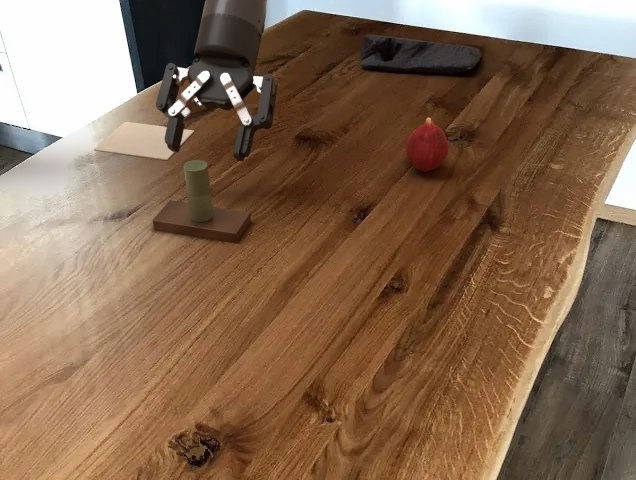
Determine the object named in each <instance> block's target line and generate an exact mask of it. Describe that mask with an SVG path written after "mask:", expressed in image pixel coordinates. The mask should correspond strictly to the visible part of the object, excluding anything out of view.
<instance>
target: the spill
mask: <svg viewBox="0 0 636 480" xmlns="http://www.w3.org/2000/svg"><path fill="white" fill-rule="evenodd" d="M166 129H167V126H164V125H163V126H162V125H155V124H147V123H141V122H139V123H138V122H133V121H132V122H131V121H124V122H123V123H122V124H121V125H120V126H118V127H117V128H116V129H115V130H113V132H111V134H109V135H108V136H107V137H106V138H105V139H104V140H103V141H102V142H100V143H99V144H98V145H97V146H96V147H94V148H93V150H94V151H96V152H103V153H111V154H117V155H126V156H130V157H132V156H133V157H138V158H146V159H154V160H160V161H169V160H170V158H171V157H172V156H173V155H174V154H175V153H176V152H172V151H171V150H170V149H169V148H168V147H167V144H166V143H165V139H164V138H165V133H166ZM194 133H195V130H193V129H185V128H184V131H183V136H182V140H181V145H180V147H182V146H183V145H184V143H185V142H186V141H187V140H188V139H189V138H190V137H191V136H192V135H193V134H194Z"/></svg>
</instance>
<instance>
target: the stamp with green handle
mask: <svg viewBox="0 0 636 480" xmlns="http://www.w3.org/2000/svg"><path fill="white" fill-rule="evenodd" d="M183 172H184V180H185V188H186V195H187V202H183V201H179V200H170V199H169V200H168V201H167V202H166V203H165V205H164V206H163V207H161V209H160V210H159V212H158V213H157V214H156V215H155V216H154V218H152V226H153V231H158V232H164V233H170V234H176V235H183V236H188V237H194V238H200V239H206V240H213V241H219V242H225V243H231V244H238V243H239V241H240V240H241V238H242V237H243V235H244V234H245V232H246V231H247V229H248V228H249V227H250V225H251V224H252V215H251V212H250V211H243V210H237V209H229V208H224V207H216V206H213V203H212V191H211V183H210V175H209V165H208V163H207V161H205V160H204V159H203V160H202V159H192V160H189V161H186V162H185V163H183Z"/></svg>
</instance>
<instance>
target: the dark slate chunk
mask: <svg viewBox="0 0 636 480" xmlns="http://www.w3.org/2000/svg"><path fill="white" fill-rule="evenodd" d="M361 44H362V45H361V51H360V64H359V66H360V67H362V68H364V69H366V70H372V69H374V70H383V71H388V72H389V71H390V72H401V73H408V72H412V73H413V72H414V73H421V74H423V73H426V74H431V73H432V74H442V75H445V74H448V75H453V74H457V73H464V72H469V71H471V70H472V69H474V67H476V65H477V64H478V62H479V63H480V59H481V58H482V53H481V51H480V50H479V49H478V48H477V47H473V46H465V45H457V44H447V43H441V42H435V41H428V40H420V39H412V38H411V39H410V38H406V37H405V38H404V37H396V36H388V35H387V36H386V35H379V34H378V35H377V34H366V35H365V36H363V37H362V42H361ZM386 60H389V61H386Z"/></svg>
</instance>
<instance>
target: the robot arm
mask: <svg viewBox="0 0 636 480" xmlns="http://www.w3.org/2000/svg"><path fill="white" fill-rule="evenodd" d="M267 4H268V0H205V1H204V5H203V10H202V15H201V19H200V25H199V29H198V33H197V39H196V43H195V48H194V53H193V61H192V64H191V66H189V68H184V67H179V66H177V65H176V64H175V63H173V62H168V63H167V64H166V66H165V70H164V73H163V76H162V80H161V84H160V86H159V90H158V95H157V100H156V102H155V107H156V109H157V110H158V111H159V112H160V113H162V114H163V115H164V116H165V117H166V118H168V119H167V125H166V127H167V129H166V133H165V138H164V139H165V143H166V144H167V147H168V148H169V149H170V150H171V151H172V152H175V153H179V152H180V149H181V146H182V145H181V140H182V136H183V131H184V129H185V125H186V124H185V123H184V122H185V121H186V120H187V119H189V118H190V116H192V114H196V113H197V112H199V111H200V110H202V108H203V107H205V108H206V109H221V110H223V111H229V112H230V111H231V110H232V109H234V110H235V111H236V113H237V115H238V118H239V119H240V121H241V125H239V126H238V129H237V133H236V137H235V138H236V139H235V142H234V148H233V154H232V155H233V158H234V159H235V160H236V161H237V162H245V158H248V157H249V156H250V154H251V151H252V145H253V141H254V135H255V133H256V132H257V131H259V130H263V129H264V130H270V129H271V128H272V126H273V122H274V114H275V107H276V101H277V93H278V83H277V81H276V80H275V78H274V77H273V75H272V74H271V73H268V72H267V73H265V74H264V75H263V76H255V71H256V67H257V63H258V57H259V52H260V48H261V43H262V38H263V34H264V32H265V26H266V23H265V22H266V17H267ZM186 81H188V83H189V84H190V85H189V86H187V88H185V90H183V91H182V93H180V95H179V91H180V88H182V87H183V86H184V85H185V82H186ZM255 88H256V91H257V93H258V95H259V100H258V108H257V114H254V115H252V112H251V110H250V108H249V106H248V104H247V102H246V100H245V98H246V97H247V96H248V95H250V93H251V92H252V91H253V90H254V89H255ZM178 95H179V99H177V98H178ZM180 145H181V146H180Z"/></svg>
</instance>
